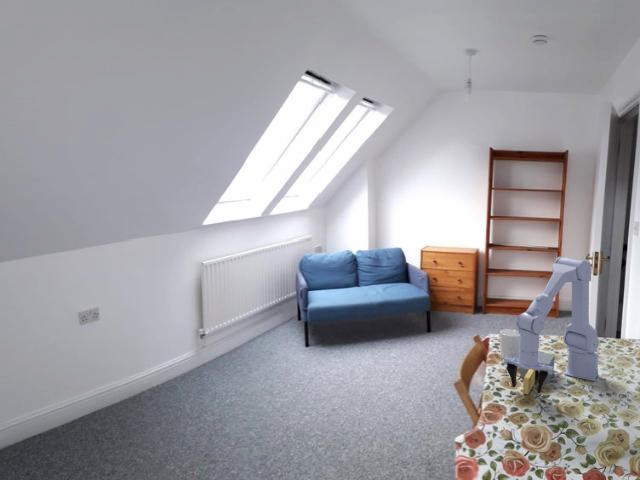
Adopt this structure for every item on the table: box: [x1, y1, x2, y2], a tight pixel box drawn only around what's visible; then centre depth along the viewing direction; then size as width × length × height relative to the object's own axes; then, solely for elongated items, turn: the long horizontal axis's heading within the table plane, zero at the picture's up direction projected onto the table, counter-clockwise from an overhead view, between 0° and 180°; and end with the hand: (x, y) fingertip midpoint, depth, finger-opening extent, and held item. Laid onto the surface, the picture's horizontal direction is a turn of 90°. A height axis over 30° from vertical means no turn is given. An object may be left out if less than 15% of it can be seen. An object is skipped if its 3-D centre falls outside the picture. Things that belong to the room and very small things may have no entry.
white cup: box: [499, 328, 520, 360], centre depth 185 cm, size 8×8×10 cm
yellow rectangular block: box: [522, 369, 536, 395], centre depth 159 cm, size 2×10×6 cm, turn 145°
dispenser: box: [519, 351, 555, 384], centre depth 169 cm, size 9×11×7 cm
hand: (526, 389), depth 157 cm, fingers open, 7 cm apart
